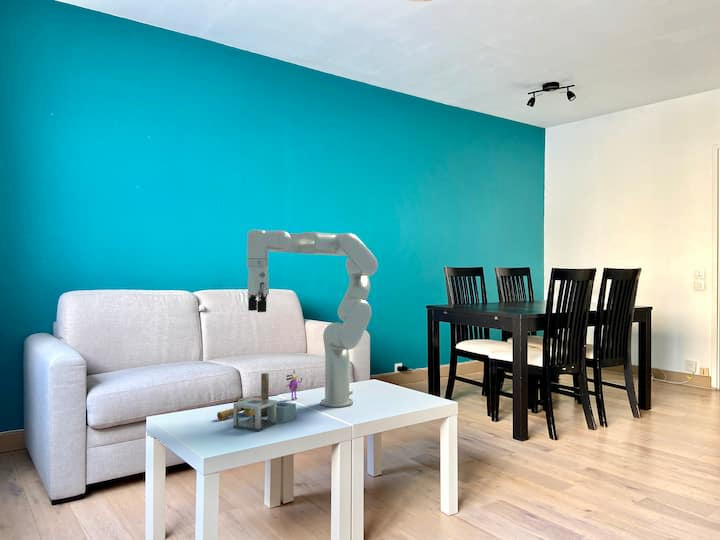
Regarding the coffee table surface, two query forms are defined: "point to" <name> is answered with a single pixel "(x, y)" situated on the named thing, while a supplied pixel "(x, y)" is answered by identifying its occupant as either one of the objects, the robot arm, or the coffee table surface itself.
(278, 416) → the stylus holder
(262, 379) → the stylus
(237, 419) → the guard frame
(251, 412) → the button
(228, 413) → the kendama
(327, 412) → the coffee table surface
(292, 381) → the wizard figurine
